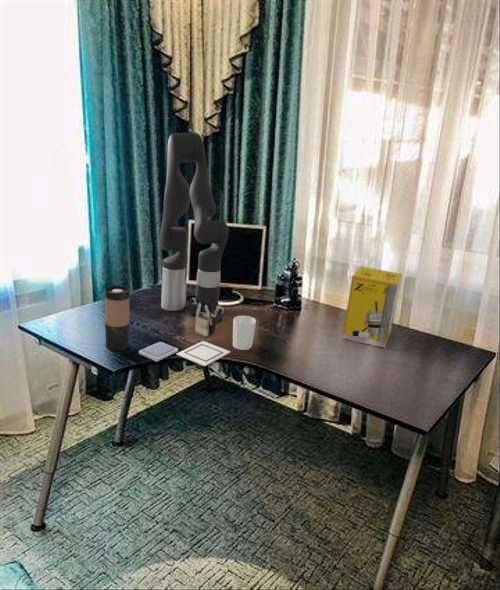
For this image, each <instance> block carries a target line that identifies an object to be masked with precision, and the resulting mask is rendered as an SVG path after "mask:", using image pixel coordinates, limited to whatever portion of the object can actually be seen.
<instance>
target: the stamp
mask: <svg viewBox="0 0 500 590" xmlns="http://www.w3.org/2000/svg"><path fill="white" fill-rule="evenodd" d="M212 320H213V319H212ZM209 325H210V324H209V319H208V318H207V314H206V313H204V314H203V315H201V316H199V317H196V319H195V328H194V329H195V330H194V335H195V336H197V337H200V338H202V339H205V340H206V339H208V338H212V337H213V336H215V335H216V332H215V333H214V334H213V335H209V334H208V333H209Z"/></svg>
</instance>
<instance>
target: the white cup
mask: <svg viewBox="0 0 500 590" xmlns="http://www.w3.org/2000/svg"><path fill="white" fill-rule="evenodd" d="M232 320H233V321H232V346H233V348H235V349H237V350H240V351H249V350H250V348H251V349H252V347H253V342H254V339H255V338H254V337H255V333H256V324H257V320H256V318H254V317H252V316H250V315H237V316H234V317H233V319H232Z"/></svg>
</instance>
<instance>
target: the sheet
mask: <svg viewBox="0 0 500 590" xmlns="http://www.w3.org/2000/svg"><path fill="white" fill-rule="evenodd" d="M230 353H231V350H227V349H225V348H222V347H220V346H217V345H216V344H215V345H214V344H213V343H210V342H206V341H204V340H202V341H200V342H198V343H195V344H193V345H192V346H189V347H188V348H185V349H183V350H181V351H178V352H176V353H175V354H176V355H177V356H179V357H181V358H183V359H186V360H189V361H191V362H193V363H195V364H198V365H200V366H203V367H206V366H208V365H210V364H212V363H214V362H216V361H218V360H219V359H221V358H223V357H225V356H227V355H229V354H230Z"/></svg>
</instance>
